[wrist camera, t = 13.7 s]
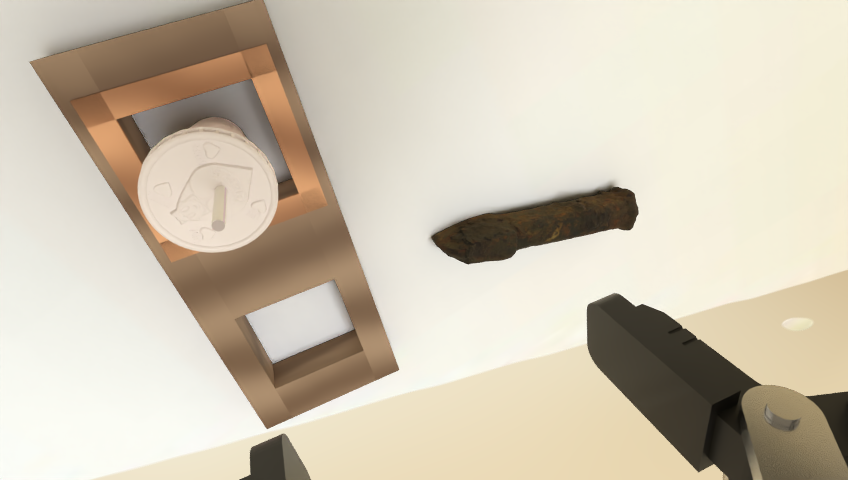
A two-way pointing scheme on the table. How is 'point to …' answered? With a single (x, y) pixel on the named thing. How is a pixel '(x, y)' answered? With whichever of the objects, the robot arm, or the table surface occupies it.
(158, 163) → the smoothie
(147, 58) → the wooden tray
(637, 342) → the robot arm
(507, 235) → the hand tool
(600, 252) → the table surface
